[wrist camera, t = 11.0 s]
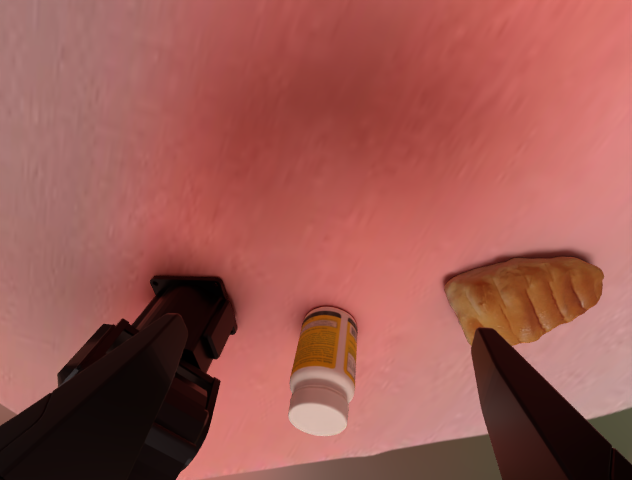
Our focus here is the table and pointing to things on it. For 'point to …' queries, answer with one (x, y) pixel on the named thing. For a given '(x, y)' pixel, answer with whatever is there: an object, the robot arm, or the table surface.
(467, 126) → the table surface
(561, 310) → the pastry
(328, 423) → the supplement bottle
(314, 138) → the table surface
